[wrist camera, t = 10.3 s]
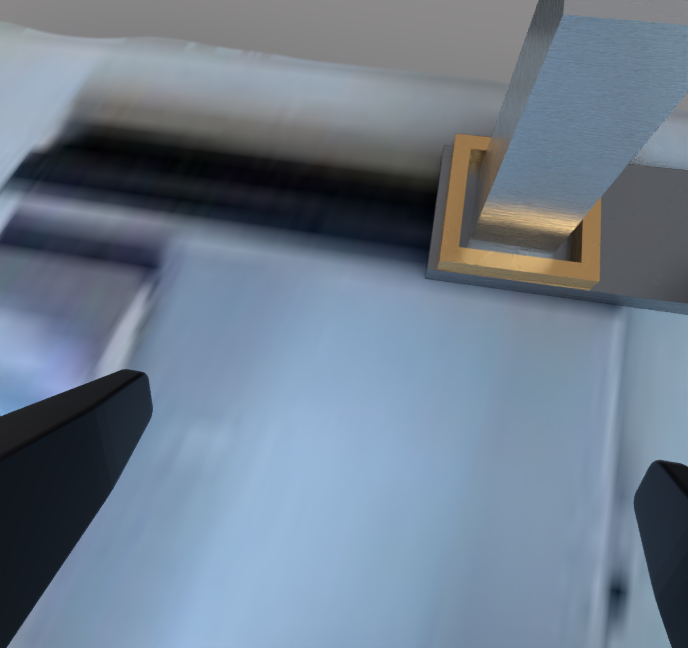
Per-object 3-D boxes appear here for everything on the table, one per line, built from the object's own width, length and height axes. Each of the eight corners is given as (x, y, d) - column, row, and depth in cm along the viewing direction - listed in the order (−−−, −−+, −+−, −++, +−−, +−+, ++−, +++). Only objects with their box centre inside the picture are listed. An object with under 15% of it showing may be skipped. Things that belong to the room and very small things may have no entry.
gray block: (555, 254, 22) (743, 30, 11) (469, 242, 23) (563, 14, 11) (560, 183, 23) (737, -88, 12) (478, 173, 24) (572, -97, 13)
